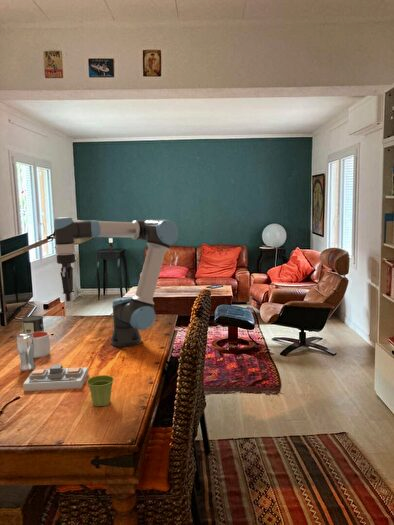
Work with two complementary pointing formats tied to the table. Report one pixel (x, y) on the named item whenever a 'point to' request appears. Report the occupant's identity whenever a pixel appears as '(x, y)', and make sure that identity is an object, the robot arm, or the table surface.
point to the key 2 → (74, 370)
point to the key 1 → (38, 372)
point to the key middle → (56, 368)
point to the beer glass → (26, 351)
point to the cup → (41, 344)
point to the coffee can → (32, 324)
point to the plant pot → (100, 389)
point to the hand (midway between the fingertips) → (69, 307)
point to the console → (56, 380)
